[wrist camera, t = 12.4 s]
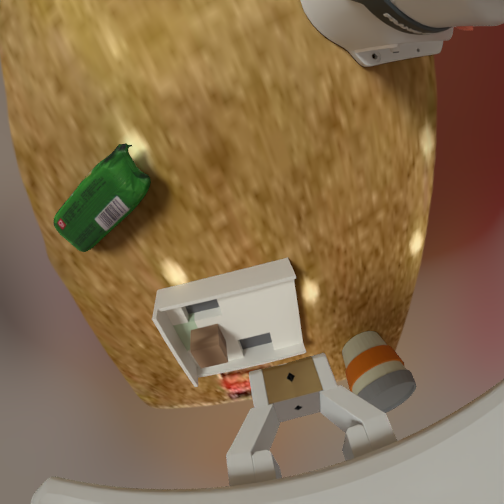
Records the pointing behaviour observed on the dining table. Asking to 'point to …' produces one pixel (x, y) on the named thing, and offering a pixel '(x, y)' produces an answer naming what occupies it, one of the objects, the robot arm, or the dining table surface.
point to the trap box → (234, 317)
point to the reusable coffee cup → (376, 372)
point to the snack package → (102, 200)
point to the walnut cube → (208, 346)
